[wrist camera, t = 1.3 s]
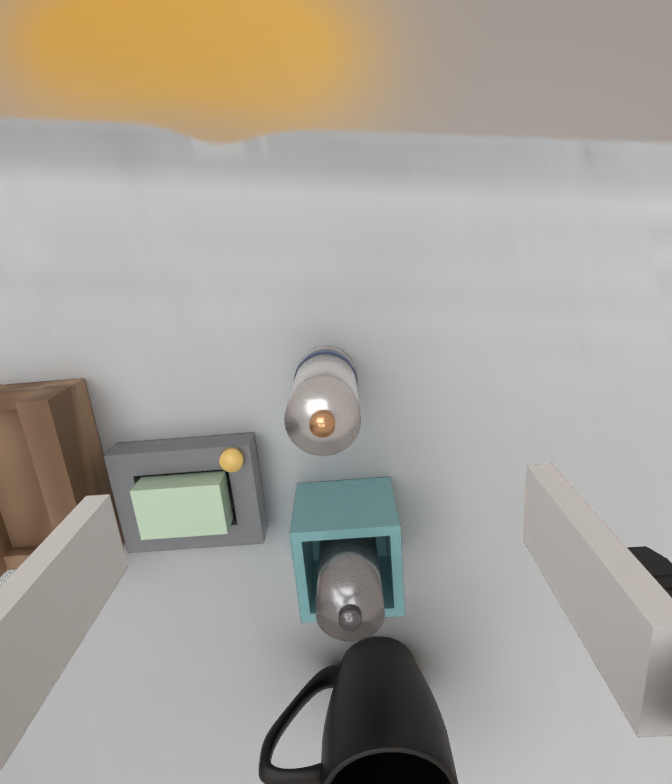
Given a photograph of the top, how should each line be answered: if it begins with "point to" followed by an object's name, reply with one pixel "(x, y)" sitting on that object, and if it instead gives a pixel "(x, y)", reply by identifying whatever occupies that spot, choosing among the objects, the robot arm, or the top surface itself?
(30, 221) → the top surface
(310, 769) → the mug
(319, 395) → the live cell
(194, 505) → the pale green block
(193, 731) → the top surface
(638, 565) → the robot arm
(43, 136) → the top surface
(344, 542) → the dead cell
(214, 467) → the frame
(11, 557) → the trough
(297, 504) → the teal open bin
